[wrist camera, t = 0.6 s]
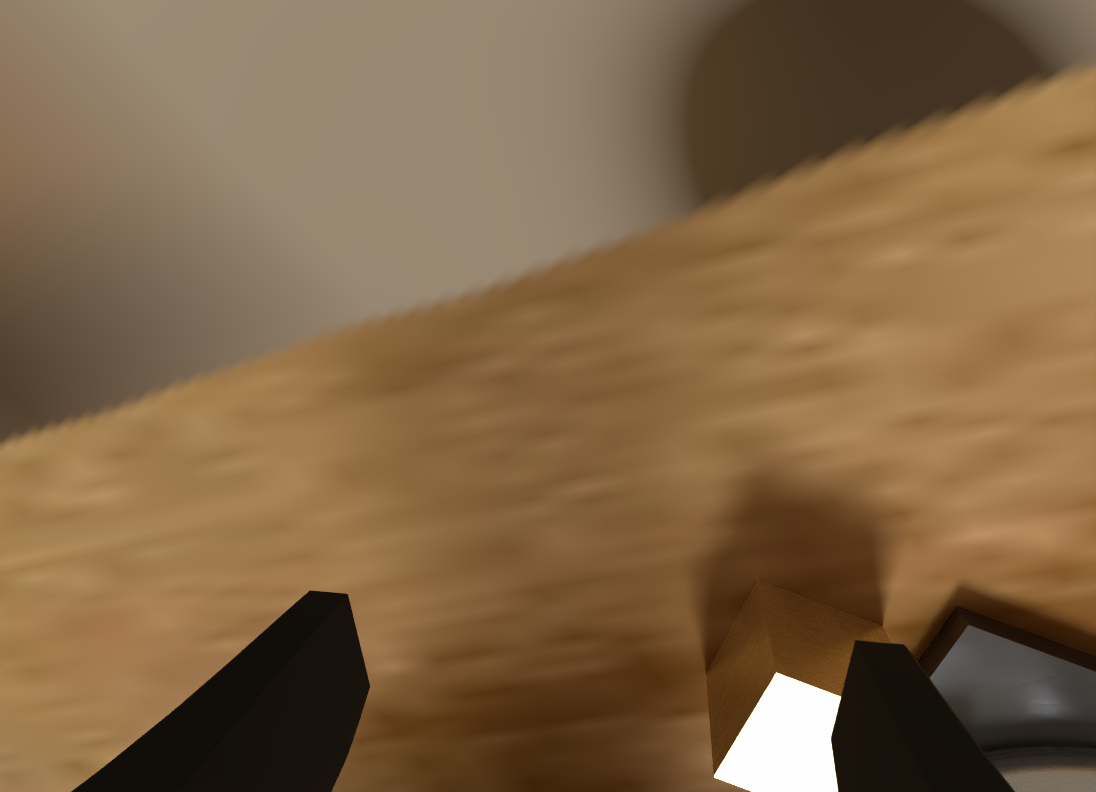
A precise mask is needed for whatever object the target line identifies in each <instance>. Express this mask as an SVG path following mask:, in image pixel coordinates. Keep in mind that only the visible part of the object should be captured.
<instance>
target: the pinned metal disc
mask: <svg viewBox="0 0 1096 792" xmlns="http://www.w3.org/2000/svg"><path fill="white" fill-rule="evenodd" d="M985 754H986V755H987V756H988V758H989V759H990V760H991V761H992V763H993V764H994V765H995V767H996V768H997V769H998V771H999V772H1000V773H1001V774H1002V776H1003V777H1004V778H1005V779H1006V781H1007V782H1008V783H1009V785H1010V786H1011V787H1012V788H1013V790H1014V791H1015V792H1096V749H1095V748H1086V747H1066V746H1037V747H1022V748H1009V749H1003V750H996V751H990V752H985Z"/></svg>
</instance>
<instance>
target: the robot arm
mask: <svg viewBox="0 0 1096 792" xmlns="http://www.w3.org/2000/svg"><path fill="white" fill-rule="evenodd" d="M369 688H370V684H369V680H368V676H367V671H366V667H365V663H364V659H363V655H362V651H361V647H360V643H359V638H358V634H357V630H356V626H355V622H354V618H353V614H352V610H351V605H350V601H349V597H348V594H342V593H331V592H320V591H309V592H308V593H307V594H306V595H304V596H303V597H302V598H301V599H300V600H299V601H297V602H296V603H295V604H294V605H293V606H292V607H291V608H290V609H288V610H287V611H286V612H285V613H284V614H283V615H282V616H280V617H279V618H278V619H277V620H276V621H275V622H274V623H273V624H271V625H270V626H269V627H268V628H267V629H266V630H265V631H264V632H263V633H261V634H260V635H259V636H258V637H257V638H256V639H255V640H254V641H252V642H251V643H250V644H249V645H248V646H247V647H246V648H245V649H244V650H242V651H241V652H240V653H239V654H238V655H237V656H236V657H235V658H233V659H232V660H231V661H230V662H229V663H228V664H227V665H226V666H224V667H223V668H222V669H221V670H220V671H219V672H218V673H216V674H215V675H214V676H213V677H212V678H211V679H209V680H208V681H207V682H206V683H205V684H204V685H202V686H201V687H200V688H199V689H198V690H197V691H196V692H194V693H193V694H192V695H191V696H190V697H189V698H187V699H186V700H185V701H184V702H183V703H182V704H181V705H179V706H178V707H177V708H176V709H175V710H174V711H172V712H171V713H170V714H169V715H168V716H166V717H165V718H164V719H163V720H161V721H160V722H159V723H158V724H156V725H155V726H154V727H153V728H151V729H150V730H149V731H148V732H147V733H145V734H144V735H143V736H142V737H140V738H139V739H138V740H137V741H135V742H134V743H133V744H132V745H130V746H129V747H128V748H127V749H126V750H124V751H123V752H122V753H121V754H119V755H118V756H117V757H116V758H114V759H113V760H112V761H111V762H109V763H108V764H107V765H106V766H105V767H103V768H102V769H101V770H99V771H98V772H97V773H95V774H94V775H93V776H91V777H90V778H89V779H88V780H86V781H85V782H84V783H82V784H81V785H80V786H78V787H77V788H76V789H74V790H73V791H72V792H331V791H332V789H333V787H334V785H335V783H336V780H337V778H338V776H339V774H340V771H341V769H342V767H343V765H344V762H345V760H346V758H347V756H348V753H349V750H350V747H351V744H352V741H353V738H354V735H355V732H356V729H357V726H358V723H359V720H360V717H361V714H362V711H363V708H364V704H365V701H366V698H367V695H368V692H369ZM831 745H832V752H833V760H834V767H835V774H836V781H837V788H838V792H1015V791H1014V790H1013V788H1012V787H1011V786H1010V785H1009V783H1008V782H1007V781H1006V779H1005V778H1004V777H1003V776H1002V774H1001V773H1000V772H999V771H998V769H997V768H996V767H995V765H994V764H993V763H992V761H991V760H990V759H989V758H988V756H987V755H986V754H985V752H984V751H983V750H982V748H981V747H980V746H979V744H978V743H977V742H976V740H975V739H974V738H973V736H972V735H971V734H970V732H969V731H968V730H967V728H966V727H965V726H964V724H963V723H962V722H961V720H960V719H959V718H958V716H957V715H956V714H955V712H954V711H953V710H952V708H951V707H950V706H949V704H948V703H947V701H946V700H945V699H944V697H943V696H942V695H941V693H940V692H939V690H938V689H937V688H936V686H935V685H934V684H933V682H932V681H931V679H930V678H929V677H928V675H927V674H926V672H925V671H924V670H923V668H922V667H921V665H920V664H919V663H918V661H917V660H916V659H915V657H914V656H913V654H912V653H911V652H910V651H909V650H908V648H907V647H906V646H905V645H903V644H892V643H881V642H870V641H859V640H855V643H854V647H853V651H852V655H851V659H850V663H849V667H848V671H847V675H846V679H845V682H844V686H843V690H842V694H841V698H840V702H839V706H838V710H837V714H836V718H835V722H834V726H833V730H832V734H831Z"/></svg>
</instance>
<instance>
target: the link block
mask: <svg viewBox="0 0 1096 792" xmlns="http://www.w3.org/2000/svg"><path fill="white" fill-rule="evenodd" d="M855 640H859V641H870V642H881V643H890V641H889V638H888V636H887V634H886V632H885V629H884V627H883V626H882V625H880V624H877V623H874V622H872V621H869V620H866V619H864V618H861V617H858V616H855V615H853V614H850V613H847V612H845V611H842V610H839V609H836V608H834V607H831V606H828V605H826V604H823V603H820V602H817V601H815V600H812V599H809V598H807V597H804V596H801V595H798V594H796V593H793V592H790V591H788V590H785V589H782V588H780V587H777V586H774V585H771V584H769V583H766V582H763V581H761V580H758V579H757V581H756V583H755V585H754V587H753V588H752V590H751V592H750V594H749V596H748V598H747V599H746V601H745V603H744V605H743V607H742V609H741V610H740V612H739V614H738V616H737V618H736V619H735V621H734V623H733V625H732V627H731V629H730V630H729V632H728V634H727V636H726V638H725V640H724V641H723V643H722V645H721V647H720V649H719V651H718V652H717V654H716V656H715V658H714V660H713V662H712V663H711V665H710V667H709V669H708V671H707V672H706V676H707V690H708V704H709V717H710V731H711V745H712V758H713V772H714V777H716V778H718V779H721V780H724V781H726V782H729V783H732V784H734V785H737V786H740V787H742V788H745V789H747V790H750V791H753V792H838V788H837V781H836V774H835V767H834V760H833V752H832V745H831V734H832V730H833V726H834V722H835V718H836V714H837V710H838V706H839V702H840V698H841V694H842V690H843V686H844V682H845V679H846V675H847V671H848V667H849V663H850V659H851V655H852V651H853V647H854V643H855Z"/></svg>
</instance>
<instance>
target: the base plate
mask: <svg viewBox="0 0 1096 792" xmlns="http://www.w3.org/2000/svg"><path fill="white" fill-rule="evenodd" d="M918 663H919V664H920V665H921V667H922V668H923V670H924V671H925V672H926V674H927V675H928V677H929V678H930V679H931V681H932V682H933V684H934V685H935V686H936V688H937V689H938V690H939V692H940V693H941V695H942V696H943V697H944V699H945V700H946V701H947V703H948V704H949V706H950V707H951V708H952V710H953V711H954V712H955V714H956V715H957V716H958V718H959V719H960V720H961V722H962V723H963V724H964V726H965V727H966V728H967V730H968V731H969V732H970V734H971V735H972V736H973V738H974V739H975V740H976V742H977V743H978V744H979V746H980V747H981V748H982V750H983V751H984V752H990V751H996V750H1003V749H1009V748H1022V747H1037V746H1066V747H1086V748H1095V749H1096V658H1095V657H1092V656H1090V655H1087V654H1084V653H1082V652H1079V651H1076V650H1073V649H1071V648H1068V647H1065V646H1062V645H1060V644H1057V643H1054V642H1052V641H1049V640H1046V639H1043V638H1041V637H1038V636H1035V635H1033V634H1030V633H1027V632H1024V631H1022V630H1019V629H1016V628H1013V627H1011V626H1008V625H1005V624H1003V623H1000V622H997V621H994V620H992V619H989V618H986V617H983V616H981V615H978V614H975V613H973V612H970V611H967V610H964V609H962V608H959V607H957V608H956V610H955V611H954V613H953V614H952V615H951V617H950V618H949V620H948V621H947V622H946V624H945V625H944V627H943V628H942V629H941V631H940V632H939V634H938V635H937V636H936V638H935V639H934V641H933V642H932V644H931V645H930V646H929V648H928V649H927V651H926V652H925V653H924V655H923V656H922V658H921V659H920V660H919V662H918Z"/></svg>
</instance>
